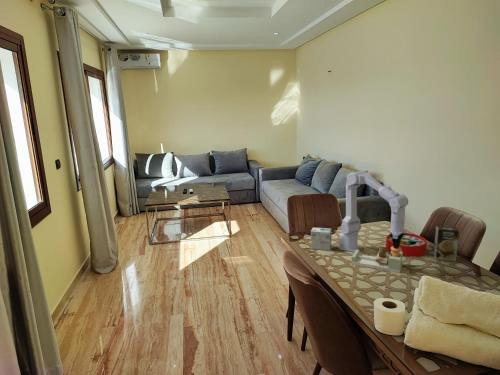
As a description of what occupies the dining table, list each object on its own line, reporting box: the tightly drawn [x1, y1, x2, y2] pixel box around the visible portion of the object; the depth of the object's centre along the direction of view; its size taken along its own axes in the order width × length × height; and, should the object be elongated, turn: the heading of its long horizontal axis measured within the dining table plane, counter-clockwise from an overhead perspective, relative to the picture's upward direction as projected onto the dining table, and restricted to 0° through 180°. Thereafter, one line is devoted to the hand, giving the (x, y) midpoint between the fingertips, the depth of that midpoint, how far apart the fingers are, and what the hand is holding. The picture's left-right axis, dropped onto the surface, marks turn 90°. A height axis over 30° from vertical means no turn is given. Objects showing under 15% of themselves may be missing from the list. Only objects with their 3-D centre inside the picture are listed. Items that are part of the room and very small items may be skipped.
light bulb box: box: [310, 227, 332, 251], centre depth 190 cm, size 11×7×11 cm, turn 71°
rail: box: [351, 249, 403, 274], centre depth 168 cm, size 22×10×6 cm, turn 61°
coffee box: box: [433, 225, 460, 262], centre depth 170 cm, size 9×6×16 cm
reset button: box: [391, 246, 402, 257], centre depth 163 cm, size 5×5×6 cm
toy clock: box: [385, 232, 428, 258], centre depth 184 cm, size 20×6×20 cm
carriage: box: [375, 246, 390, 264], centre depth 166 cm, size 5×8×7 cm, turn 151°
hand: (396, 247), depth 162 cm, fingers closed
